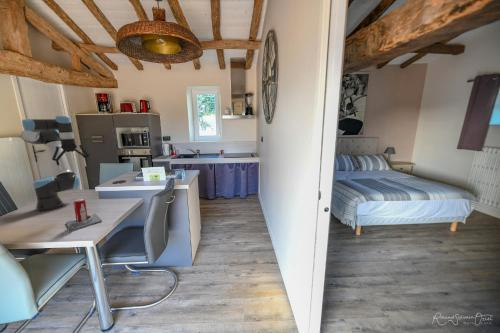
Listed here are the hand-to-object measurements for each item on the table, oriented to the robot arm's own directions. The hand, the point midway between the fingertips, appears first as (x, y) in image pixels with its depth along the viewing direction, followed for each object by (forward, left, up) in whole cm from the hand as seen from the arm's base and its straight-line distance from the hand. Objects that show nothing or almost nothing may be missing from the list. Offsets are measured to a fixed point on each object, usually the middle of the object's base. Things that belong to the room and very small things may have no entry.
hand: (73, 167), depth 147 cm
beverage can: (+28, -4, -32) cm, 42 cm away
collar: (+28, -4, -32) cm, 43 cm away
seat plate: (+28, -4, -32) cm, 43 cm away
